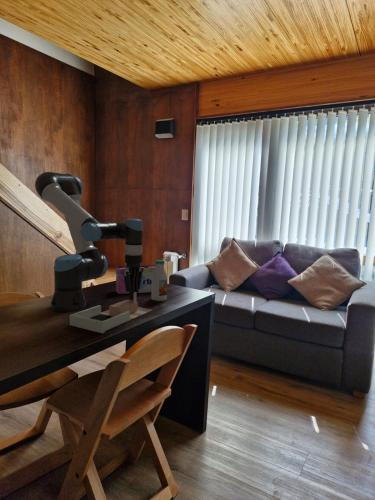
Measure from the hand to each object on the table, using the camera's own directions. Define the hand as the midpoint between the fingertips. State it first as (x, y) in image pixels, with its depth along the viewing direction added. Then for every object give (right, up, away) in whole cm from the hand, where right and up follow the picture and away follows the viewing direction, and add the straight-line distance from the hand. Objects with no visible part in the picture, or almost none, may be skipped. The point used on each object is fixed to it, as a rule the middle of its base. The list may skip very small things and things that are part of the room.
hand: (132, 306), depth 155 cm
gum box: (-3, +2, +35) cm, 36 cm away
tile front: (-4, -2, -8) cm, 10 cm away
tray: (-9, -4, -18) cm, 21 cm away
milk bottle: (+10, 0, +20) cm, 22 cm away
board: (-2, -2, -4) cm, 5 cm away
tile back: (-2, -2, -3) cm, 4 cm away
